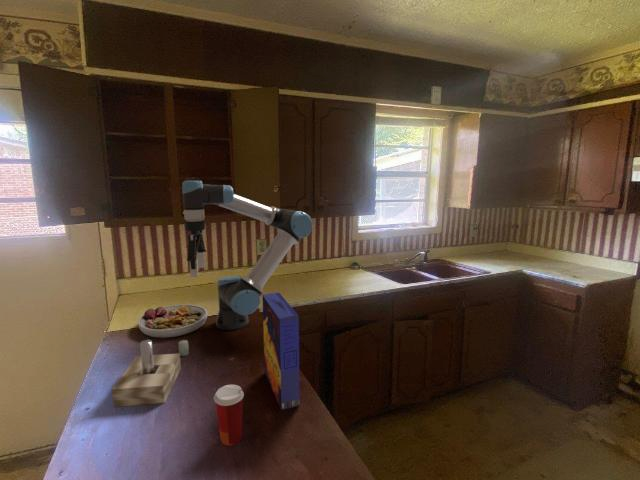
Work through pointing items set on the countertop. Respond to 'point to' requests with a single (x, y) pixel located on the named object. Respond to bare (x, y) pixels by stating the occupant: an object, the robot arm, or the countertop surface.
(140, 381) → the hole block
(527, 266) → the countertop surface
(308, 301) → the countertop surface
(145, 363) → the long steel pin
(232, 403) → the paper cup
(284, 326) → the cereal box
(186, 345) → the grey-green rounded piece
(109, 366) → the countertop surface
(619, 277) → the countertop surface
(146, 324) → the bowl
